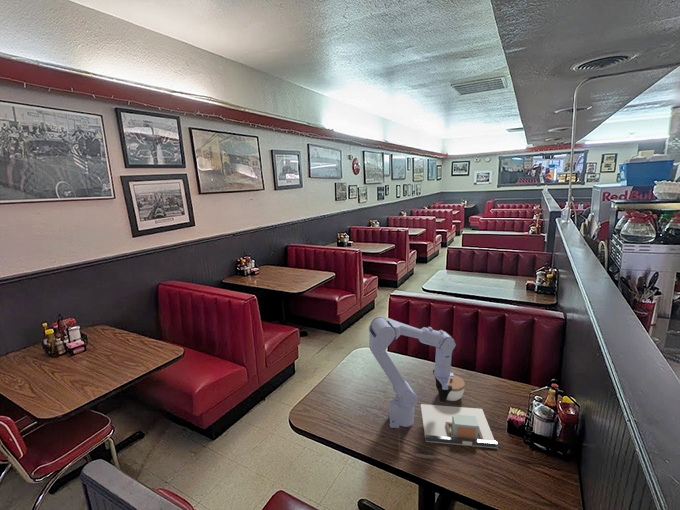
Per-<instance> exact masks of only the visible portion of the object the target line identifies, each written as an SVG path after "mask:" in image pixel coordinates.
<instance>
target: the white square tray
mask: <svg viewBox="0 0 680 510" xmlns="http://www.w3.org/2000/svg"><path fill="white" fill-rule="evenodd" d="M420 409H421V416H422V424H423V431H424V438H425V440H424V441H425V442H427V443H435V444H436V443H437V444H447V445H456V446H457V445H458V446H467V447H478V448H479V447H480V448H490V449H499V448H498V447H499V444H498V441H497V440H495V438H494V435H493V433H492V431H491V427H490V426H489V423H488V420H487V418H486V415H485V413H484V410H483V408H479V407H475V408H474V407H466V406H465V407H464V406H463V407H462V406H450V405H449V406H448V405H440V404H439V405H437V404H425V403H421V404H420ZM453 414H455V415H466V416H476V419H477V422H478V425H479V431H478V439H467V438H456V437H453V432H452V416H453Z"/></svg>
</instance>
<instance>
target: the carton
mask: <svg viewBox="0 0 680 510" xmlns="http://www.w3.org/2000/svg"><path fill="white" fill-rule="evenodd" d="M478 431H479V425H478V422H477V419H476V416H466V415H455V414H453V416H452V432H453V437H456V438H467V439H478Z"/></svg>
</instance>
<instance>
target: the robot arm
mask: <svg viewBox="0 0 680 510" xmlns="http://www.w3.org/2000/svg"><path fill="white" fill-rule="evenodd" d="M368 332H369V338H368V339H369V347H368V348H369V350H370V351H371V353H372V355H373V356H374V358H375V360H376V361H377V362H378V365H380V368H381V369H382V370H383V372H384V374H385V375H386V377H387V378H388V379H389V381H390V383H391V384H392V387H393V388H392V389H393V391H394V393H395V397H394V398H390V399H389V412H388V418H389V427H390V428H392V429H394V428H395V429H400V427H405V428H407V427H411V426H413V425H414V423H415V406H416V405H417V404H418V401H419V397H418V395H417V394H416V393H415V391H414V390H413V388H412V387H411V386H410V384H409V381H408V380H406V379H405V378H404V377H402V375H401V373H400V371H399V369H398V368H397V367H396V365H395V364H394V362H393V361H392V359H391V357H390V356H389V354H388V353H387V351H386V349H388V347H389V346H390V344H392V343H393V341H394V339H395V340H397V339H399V337H400V336H405V337H410V338H413V339H414V338H415V339H418V341H419V342H420V343H421V344H423V345H424V344H425V345H428V346H432V347H435V361H434V362H435V363H434V369H433V370H432V374H433V376H434V378H435V388H436V390H437V391H438V399H439V402H442V403H446V402H447V401H448V400H447V397H448V394H449V393H450V391H451V390H452V386H448V383H449V380H450V378H451V377H453V376H454V375H455V374H454V373H453V372H451V370H452V369H451V368H452V355H453V350H455V348H456V345H457V344H456V342H455V339H454V338H453V337H452V335H450V334H449V333H448V332H446V331H444V330H443V329H440V330H436V329H433V327H431V326H428V327H425V326H423V327H422V328H418V327H414V326H412V325H409V324H406V323H403V322H400V321H397V320H394V319H392V318H389V317H386V318H385V317H383V316H376V317H374V318H373V319H372V320H371V322H370V324H369V326H368Z"/></svg>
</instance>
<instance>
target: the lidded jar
mask: <svg viewBox="0 0 680 510" xmlns="http://www.w3.org/2000/svg"><path fill="white" fill-rule="evenodd" d="M453 375H454V376H453V377H451V378H450V380H449V383H448V386H452V390H451V391H450V393H449V394H448V397H447V400H446V401H450V402H456V401H459V400H460V399H461V398H462V397H463V394H464V393H465V386H466V383H465V380H464V379H463V378H462V377H460V376H458V375H455V374H453Z"/></svg>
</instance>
